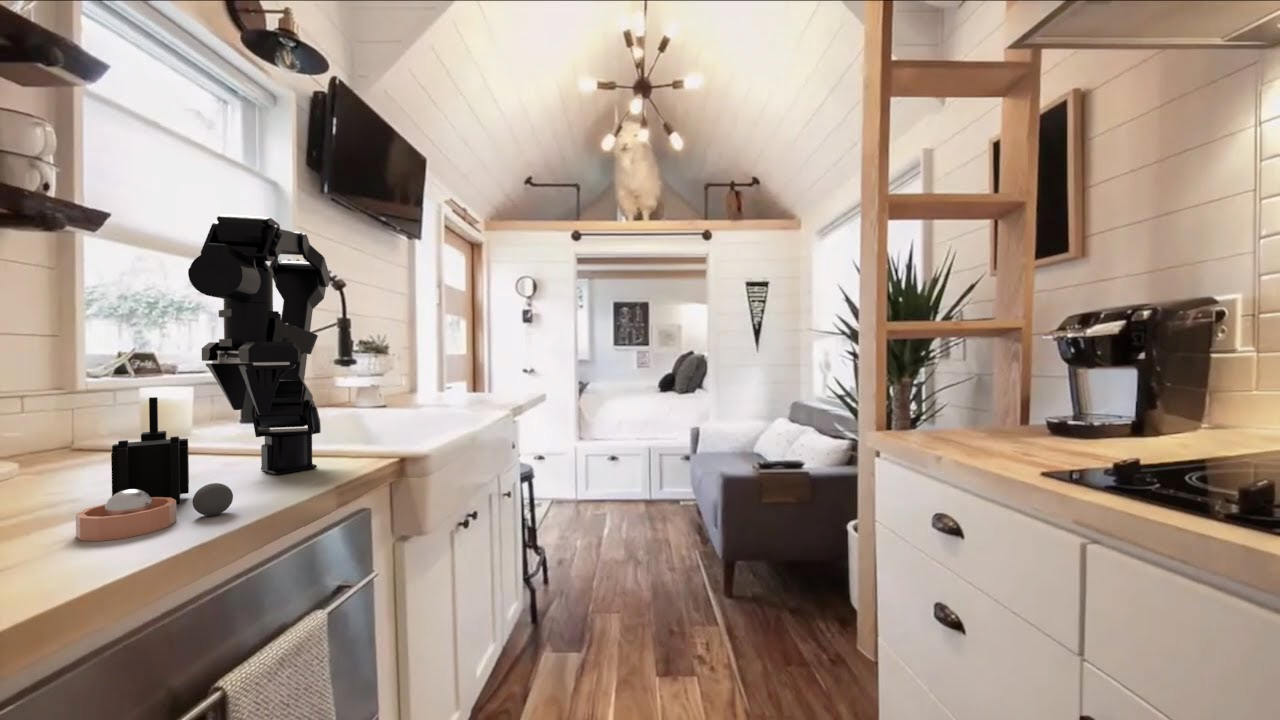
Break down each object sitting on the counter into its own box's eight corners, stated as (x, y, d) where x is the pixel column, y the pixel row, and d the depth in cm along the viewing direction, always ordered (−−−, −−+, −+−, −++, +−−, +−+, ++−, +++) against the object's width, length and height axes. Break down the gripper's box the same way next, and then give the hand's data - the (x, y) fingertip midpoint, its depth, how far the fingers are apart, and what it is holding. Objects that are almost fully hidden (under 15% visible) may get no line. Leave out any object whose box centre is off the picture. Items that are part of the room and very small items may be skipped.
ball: (226, 508, 70) (226, 478, 70) (238, 513, 67) (237, 482, 67) (188, 516, 66) (187, 484, 66) (199, 522, 64) (198, 489, 64)
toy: (107, 403, 66) (118, 398, 74) (109, 515, 67) (120, 498, 74) (185, 400, 71) (188, 395, 79) (187, 504, 71) (190, 489, 79)
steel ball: (146, 513, 65) (146, 481, 64) (156, 523, 62) (156, 490, 62) (100, 522, 61) (100, 489, 61) (109, 533, 59) (109, 499, 59)
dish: (163, 512, 68) (163, 493, 68) (184, 525, 63) (184, 504, 63) (70, 531, 61) (70, 509, 61) (86, 546, 56) (85, 523, 56)
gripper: (339, 304, 77) (340, 411, 77) (283, 310, 88) (284, 403, 88) (249, 298, 68) (250, 419, 68) (199, 305, 78) (201, 409, 79)
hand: (250, 411), depth 76 cm, fingers open, 9 cm apart
